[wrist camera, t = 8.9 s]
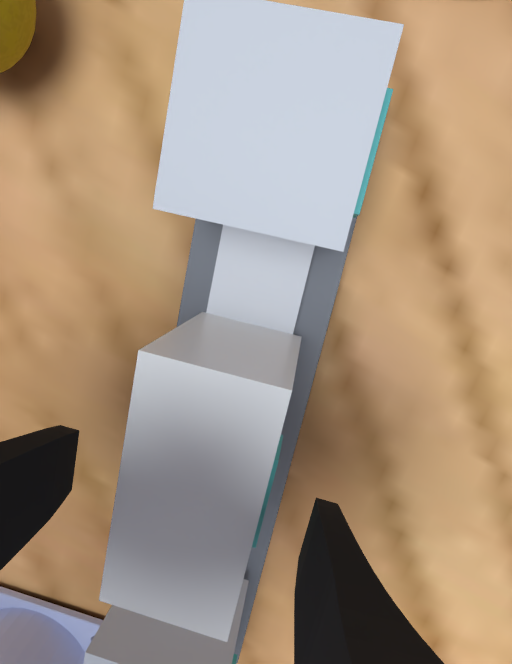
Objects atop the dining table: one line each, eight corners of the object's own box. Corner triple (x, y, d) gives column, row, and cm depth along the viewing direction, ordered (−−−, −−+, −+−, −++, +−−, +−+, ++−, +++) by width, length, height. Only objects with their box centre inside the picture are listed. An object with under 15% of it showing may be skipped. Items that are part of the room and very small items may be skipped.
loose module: (305, 337, 16) (298, 392, 10) (260, 513, 18) (232, 643, 12) (202, 311, 16) (138, 350, 10) (168, 486, 18) (99, 600, 12)
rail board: (240, 644, 21) (207, 815, 15) (132, 609, 22) (56, 759, 16) (385, 102, 15) (434, 2, 9) (229, 73, 16) (169, -43, 9)
